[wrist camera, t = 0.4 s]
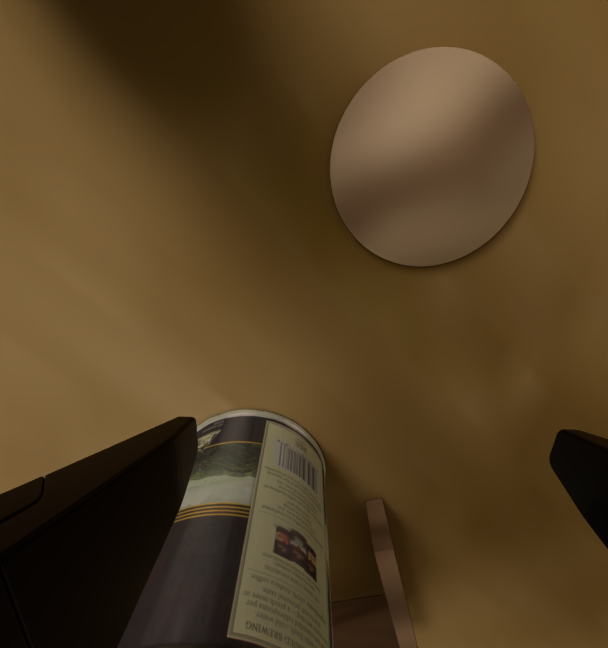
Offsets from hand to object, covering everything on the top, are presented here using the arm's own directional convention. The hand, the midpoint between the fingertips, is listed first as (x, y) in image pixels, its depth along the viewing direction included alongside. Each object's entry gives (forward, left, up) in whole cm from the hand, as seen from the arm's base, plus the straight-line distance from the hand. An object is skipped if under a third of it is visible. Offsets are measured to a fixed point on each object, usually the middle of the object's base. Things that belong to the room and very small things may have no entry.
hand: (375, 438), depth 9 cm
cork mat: (-2, +8, -13) cm, 15 cm away
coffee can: (+5, -13, -13) cm, 19 cm away
